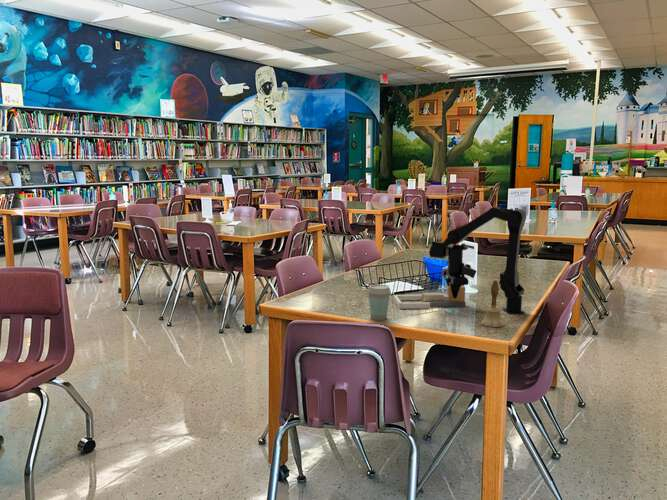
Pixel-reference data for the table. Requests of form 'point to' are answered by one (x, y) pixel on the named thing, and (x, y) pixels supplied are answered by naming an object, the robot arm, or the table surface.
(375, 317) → the coffee cup
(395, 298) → the tray
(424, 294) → the tan wooden cube
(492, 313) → the hand bell
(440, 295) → the beige cube
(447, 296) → the tan rectangular block
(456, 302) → the slot rails
